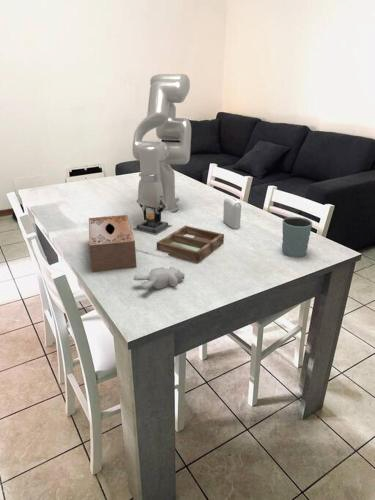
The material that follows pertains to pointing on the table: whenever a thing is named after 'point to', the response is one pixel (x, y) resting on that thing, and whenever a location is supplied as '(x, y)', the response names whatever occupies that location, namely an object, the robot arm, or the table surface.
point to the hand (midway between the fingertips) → (152, 220)
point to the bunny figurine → (161, 278)
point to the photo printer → (232, 212)
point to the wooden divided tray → (191, 243)
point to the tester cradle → (154, 231)
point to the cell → (151, 217)
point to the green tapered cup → (295, 236)
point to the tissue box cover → (111, 243)
